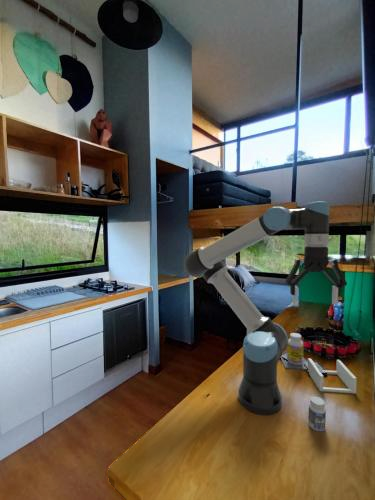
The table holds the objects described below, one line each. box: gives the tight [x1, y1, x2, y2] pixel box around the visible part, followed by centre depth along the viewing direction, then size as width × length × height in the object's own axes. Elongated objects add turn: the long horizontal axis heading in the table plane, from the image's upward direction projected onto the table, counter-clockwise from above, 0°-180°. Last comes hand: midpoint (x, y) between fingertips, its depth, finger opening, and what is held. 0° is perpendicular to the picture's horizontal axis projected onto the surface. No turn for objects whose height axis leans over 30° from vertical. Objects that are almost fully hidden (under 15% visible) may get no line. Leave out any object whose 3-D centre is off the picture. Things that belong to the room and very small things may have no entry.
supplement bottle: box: [286, 332, 304, 365], centre depth 112 cm, size 7×7×13 cm
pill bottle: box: [307, 396, 327, 432], centre depth 76 cm, size 5×5×8 cm
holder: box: [307, 358, 357, 394], centre depth 98 cm, size 13×13×6 cm
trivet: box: [280, 354, 308, 371], centre depth 112 cm, size 11×11×1 cm
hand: (314, 304), depth 88 cm, fingers open, 13 cm apart
